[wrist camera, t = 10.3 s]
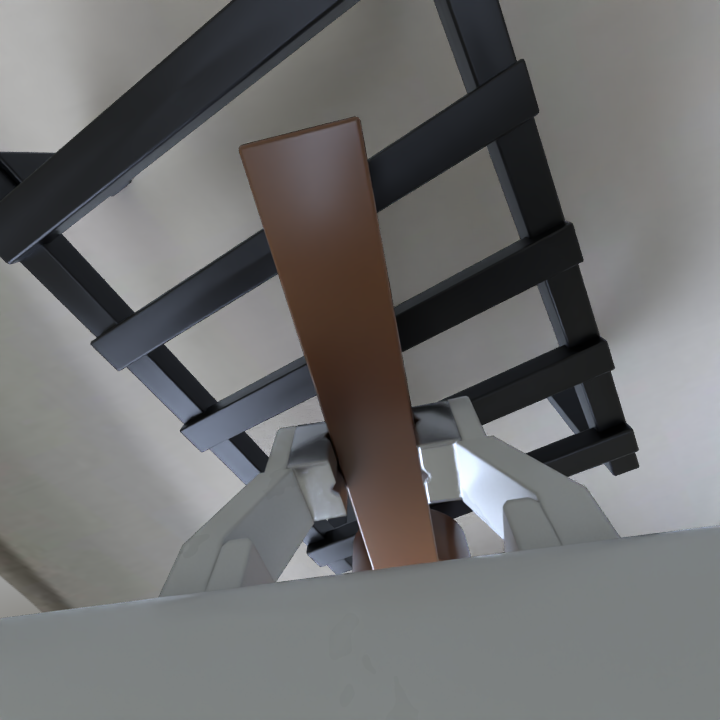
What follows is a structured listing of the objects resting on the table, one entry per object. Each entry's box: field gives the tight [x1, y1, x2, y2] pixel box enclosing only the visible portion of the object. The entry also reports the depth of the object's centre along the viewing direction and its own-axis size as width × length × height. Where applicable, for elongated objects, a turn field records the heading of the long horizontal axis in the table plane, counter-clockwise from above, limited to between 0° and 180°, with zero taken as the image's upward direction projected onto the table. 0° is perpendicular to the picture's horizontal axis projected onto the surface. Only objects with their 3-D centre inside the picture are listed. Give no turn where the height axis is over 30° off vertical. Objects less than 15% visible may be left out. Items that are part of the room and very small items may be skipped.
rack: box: [0, 0, 639, 575], centre depth 15 cm, size 20×14×7 cm
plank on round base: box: [239, 116, 471, 572], centre depth 11 cm, size 16×4×3 cm, turn 12°
